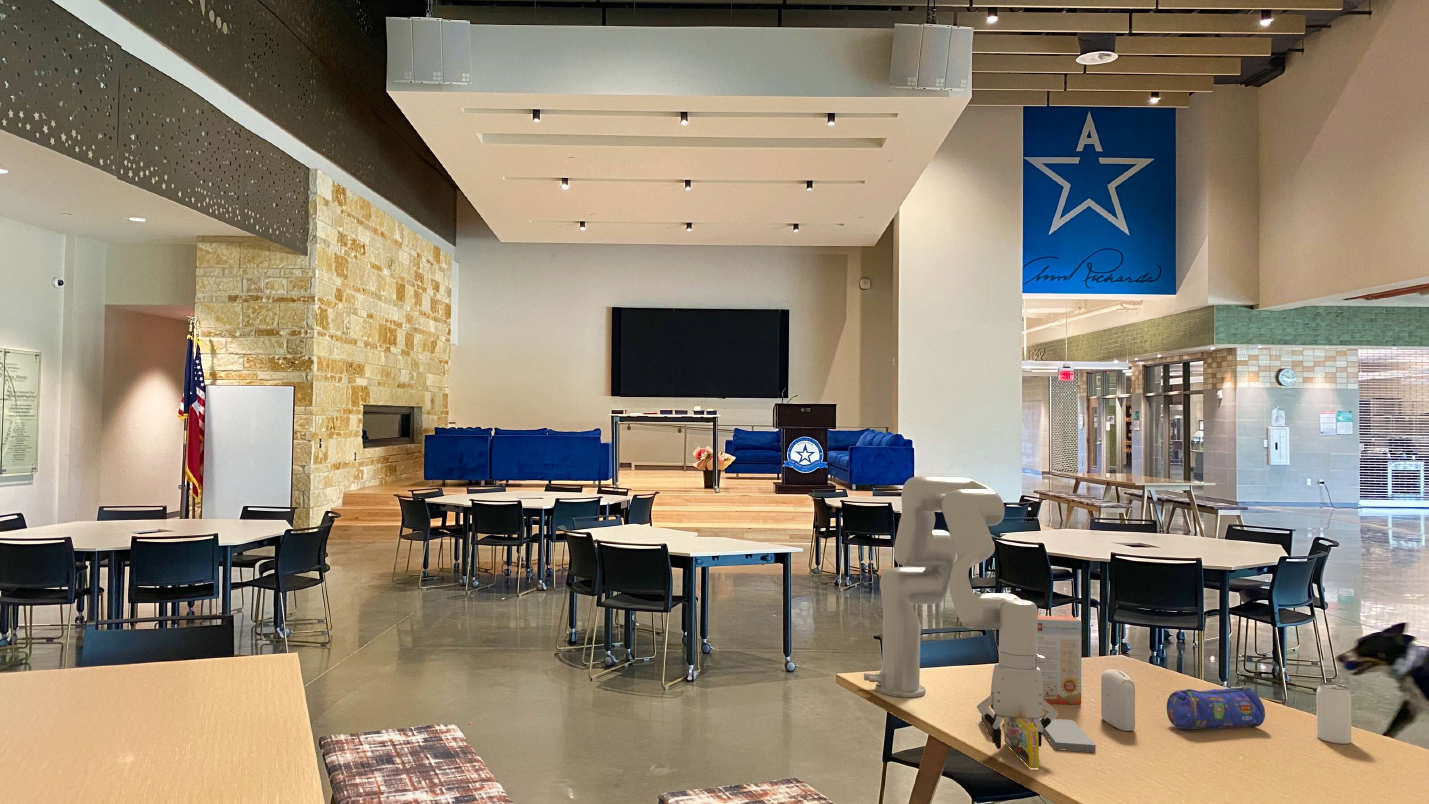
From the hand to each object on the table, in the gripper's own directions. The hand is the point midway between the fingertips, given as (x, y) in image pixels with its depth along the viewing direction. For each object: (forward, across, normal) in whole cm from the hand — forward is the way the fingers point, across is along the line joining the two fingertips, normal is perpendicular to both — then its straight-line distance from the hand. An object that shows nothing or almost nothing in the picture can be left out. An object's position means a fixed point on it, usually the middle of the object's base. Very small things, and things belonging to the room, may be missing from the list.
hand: (1016, 747), depth 189 cm
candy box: (+2, -1, +1) cm, 2 cm away
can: (+2, -74, -26) cm, 78 cm away
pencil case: (+2, -51, -30) cm, 59 cm away
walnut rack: (+1, 0, -17) cm, 17 cm away
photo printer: (+2, -28, -27) cm, 39 cm away
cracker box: (+2, -17, -45) cm, 48 cm away
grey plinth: (+1, -13, -14) cm, 19 cm away
